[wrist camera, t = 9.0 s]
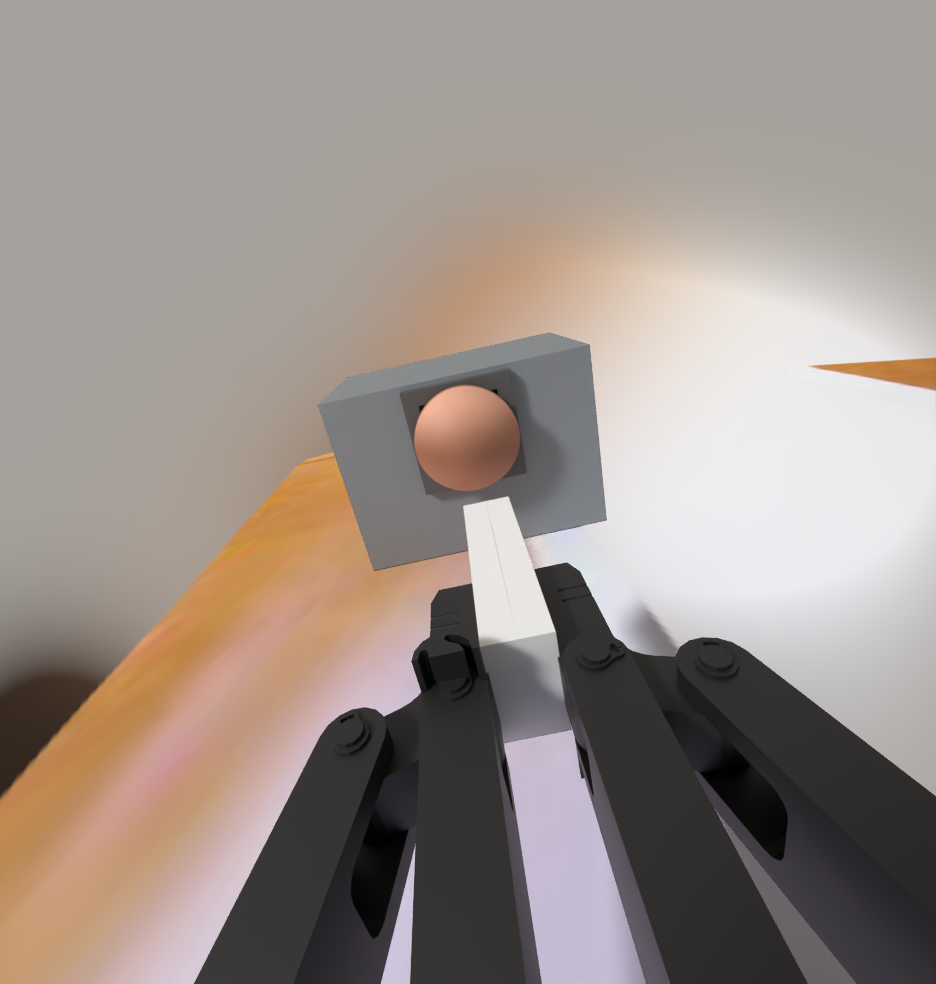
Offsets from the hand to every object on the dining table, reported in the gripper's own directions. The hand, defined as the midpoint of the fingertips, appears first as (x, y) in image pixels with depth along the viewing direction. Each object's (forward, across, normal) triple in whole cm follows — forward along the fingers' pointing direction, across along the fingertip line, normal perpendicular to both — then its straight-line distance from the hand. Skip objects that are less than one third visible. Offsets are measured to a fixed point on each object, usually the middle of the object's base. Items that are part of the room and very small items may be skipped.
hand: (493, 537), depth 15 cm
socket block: (+19, 0, -8) cm, 20 cm away
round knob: (+18, 0, -3) cm, 18 cm away
